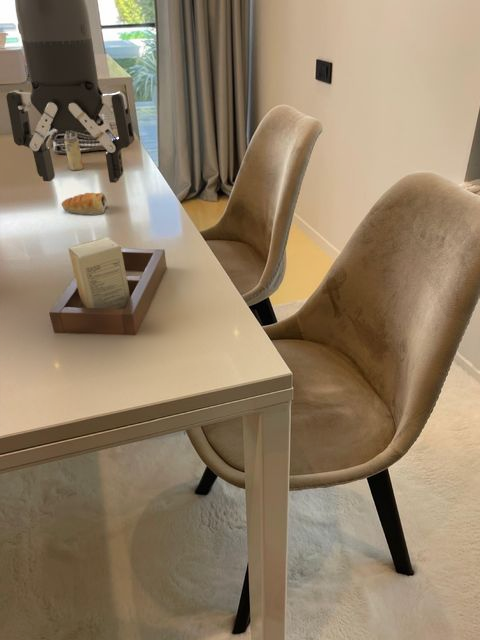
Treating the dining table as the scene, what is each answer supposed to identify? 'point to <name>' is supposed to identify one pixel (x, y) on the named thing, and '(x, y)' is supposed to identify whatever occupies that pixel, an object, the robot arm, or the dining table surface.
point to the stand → (105, 320)
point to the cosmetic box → (100, 274)
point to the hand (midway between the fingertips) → (81, 180)
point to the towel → (84, 138)
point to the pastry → (86, 204)
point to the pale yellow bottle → (73, 150)
